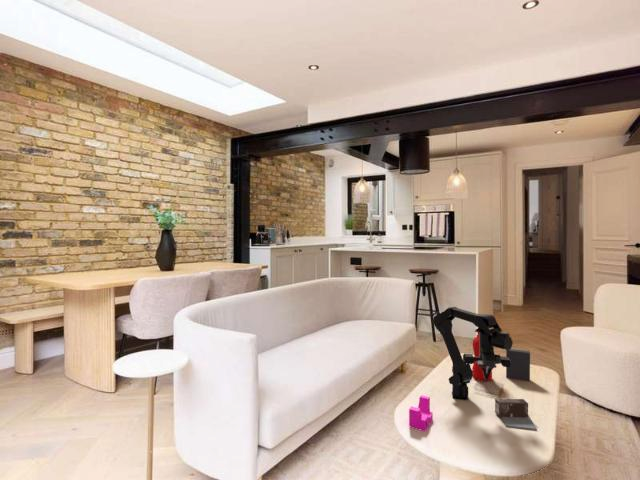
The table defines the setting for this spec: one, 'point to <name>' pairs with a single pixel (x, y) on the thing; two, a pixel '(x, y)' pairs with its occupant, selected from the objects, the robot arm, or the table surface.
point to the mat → (519, 422)
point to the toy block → (421, 414)
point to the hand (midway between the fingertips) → (486, 379)
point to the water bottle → (476, 369)
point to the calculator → (518, 365)
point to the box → (511, 407)
